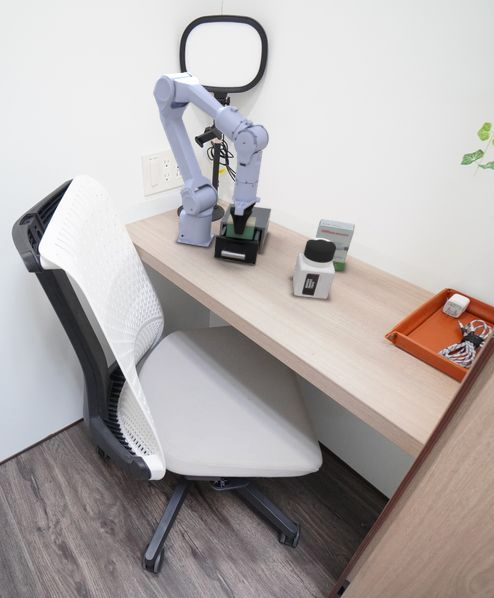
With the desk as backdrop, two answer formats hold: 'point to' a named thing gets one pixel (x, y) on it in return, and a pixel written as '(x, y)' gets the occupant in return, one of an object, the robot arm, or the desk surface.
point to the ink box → (337, 239)
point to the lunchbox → (247, 232)
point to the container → (315, 269)
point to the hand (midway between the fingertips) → (240, 229)
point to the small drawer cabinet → (260, 223)
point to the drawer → (237, 247)
